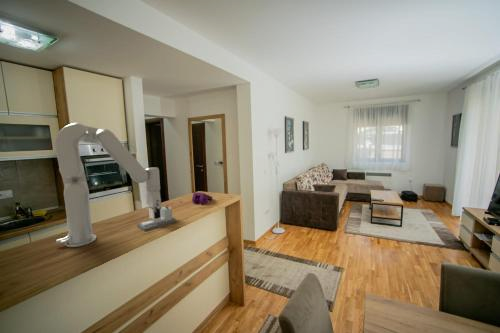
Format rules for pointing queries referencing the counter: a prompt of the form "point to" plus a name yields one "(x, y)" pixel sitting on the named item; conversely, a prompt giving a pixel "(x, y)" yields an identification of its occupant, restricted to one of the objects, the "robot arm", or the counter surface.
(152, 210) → the rail module
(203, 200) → the purple rounded lump
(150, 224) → the mounting board
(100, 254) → the counter surface
